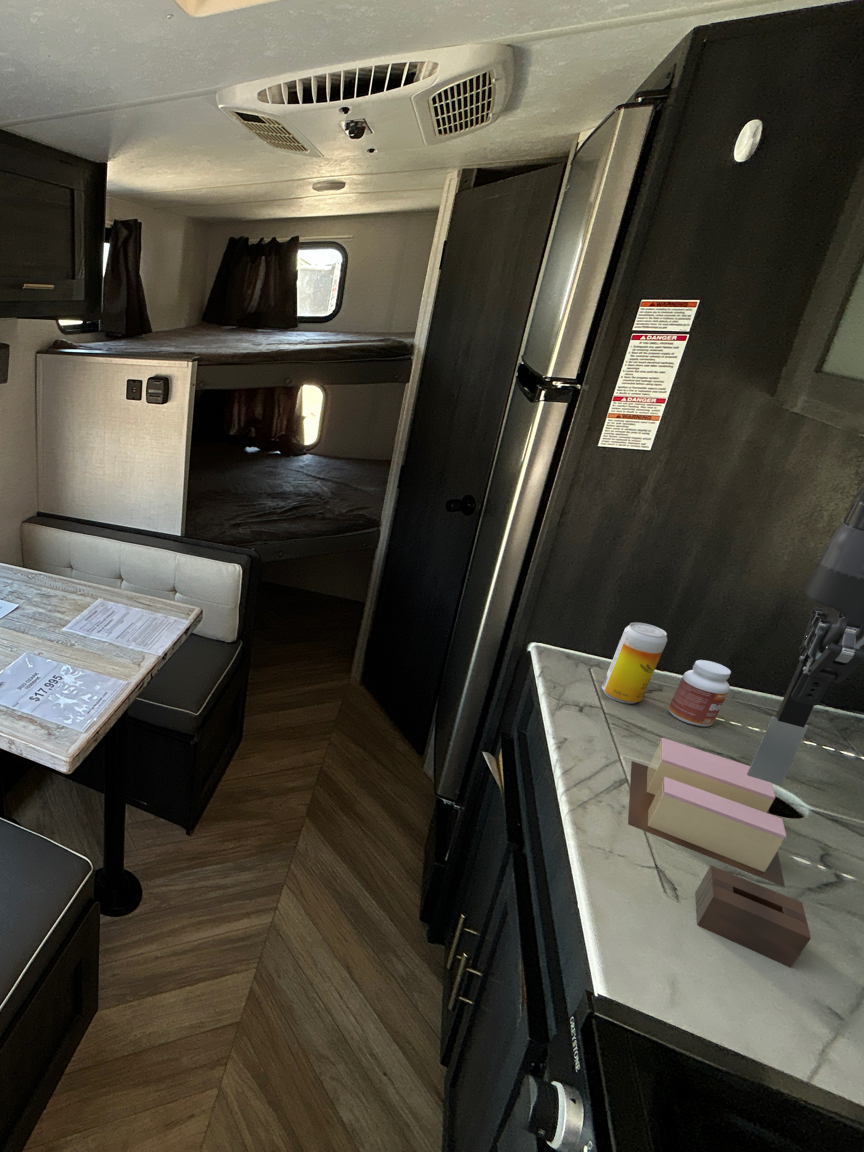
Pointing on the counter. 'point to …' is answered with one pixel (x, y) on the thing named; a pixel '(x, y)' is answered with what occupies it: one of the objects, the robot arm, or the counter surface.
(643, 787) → the cake board
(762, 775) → the knife
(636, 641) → the beer can
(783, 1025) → the counter surface
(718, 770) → the cake
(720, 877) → the knife block
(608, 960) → the counter surface
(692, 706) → the pill bottle
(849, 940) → the counter surface
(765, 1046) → the counter surface
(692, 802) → the cake slice
